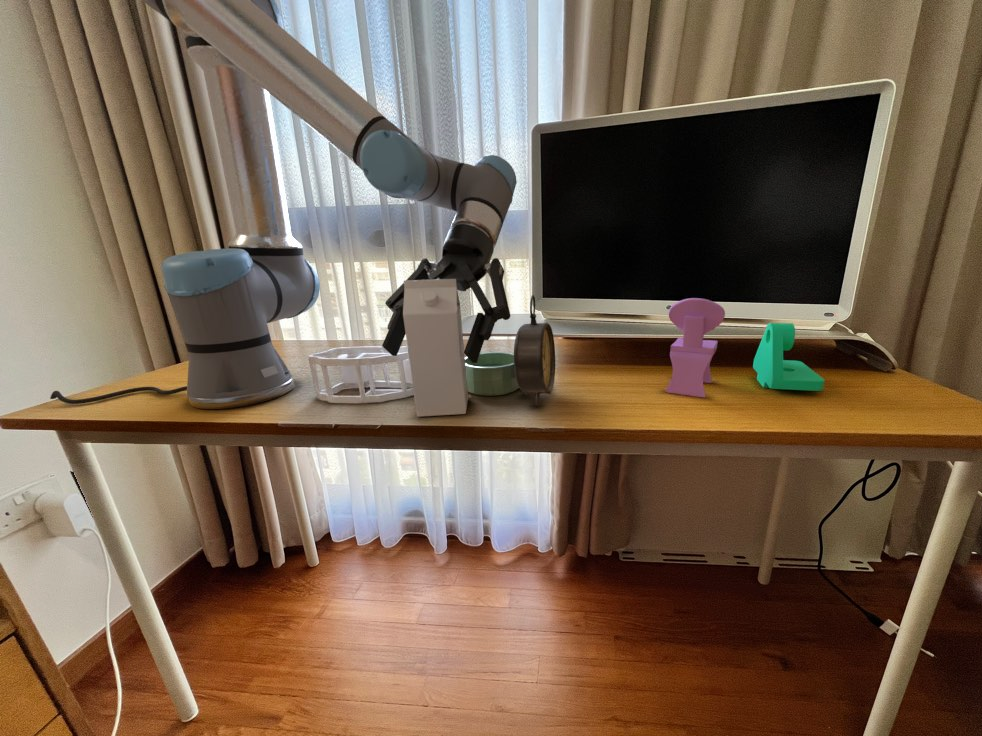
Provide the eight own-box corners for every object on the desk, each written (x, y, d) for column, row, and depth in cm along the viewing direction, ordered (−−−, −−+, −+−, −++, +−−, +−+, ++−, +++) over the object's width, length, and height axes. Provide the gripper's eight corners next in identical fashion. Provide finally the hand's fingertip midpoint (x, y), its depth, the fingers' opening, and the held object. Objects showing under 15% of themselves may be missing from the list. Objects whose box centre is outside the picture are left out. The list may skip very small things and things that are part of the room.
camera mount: (823, 397, 66) (838, 331, 62) (769, 395, 68) (781, 330, 64) (797, 374, 77) (809, 317, 73) (751, 373, 79) (761, 316, 75)
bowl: (452, 393, 72) (449, 365, 70) (481, 376, 81) (479, 350, 79) (507, 400, 68) (506, 370, 67) (531, 381, 77) (530, 354, 75)
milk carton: (423, 400, 69) (408, 278, 62) (468, 398, 70) (457, 276, 63) (417, 417, 62) (398, 283, 55) (466, 414, 63) (453, 281, 56)
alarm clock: (545, 411, 64) (543, 300, 58) (510, 409, 65) (504, 299, 59) (557, 387, 74) (556, 290, 68) (526, 386, 75) (523, 290, 69)
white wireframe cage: (449, 382, 78) (445, 342, 75) (429, 404, 67) (424, 359, 65) (344, 381, 79) (336, 342, 77) (309, 403, 69) (299, 359, 66)
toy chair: (718, 382, 74) (730, 293, 69) (712, 398, 67) (725, 300, 61) (670, 376, 78) (677, 292, 72) (658, 391, 71) (666, 298, 65)
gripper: (551, 256, 67) (516, 374, 60) (418, 257, 76) (373, 360, 68) (538, 218, 61) (498, 345, 53) (395, 224, 69) (342, 334, 62)
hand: (428, 354), depth 61 cm, fingers open, 13 cm apart
